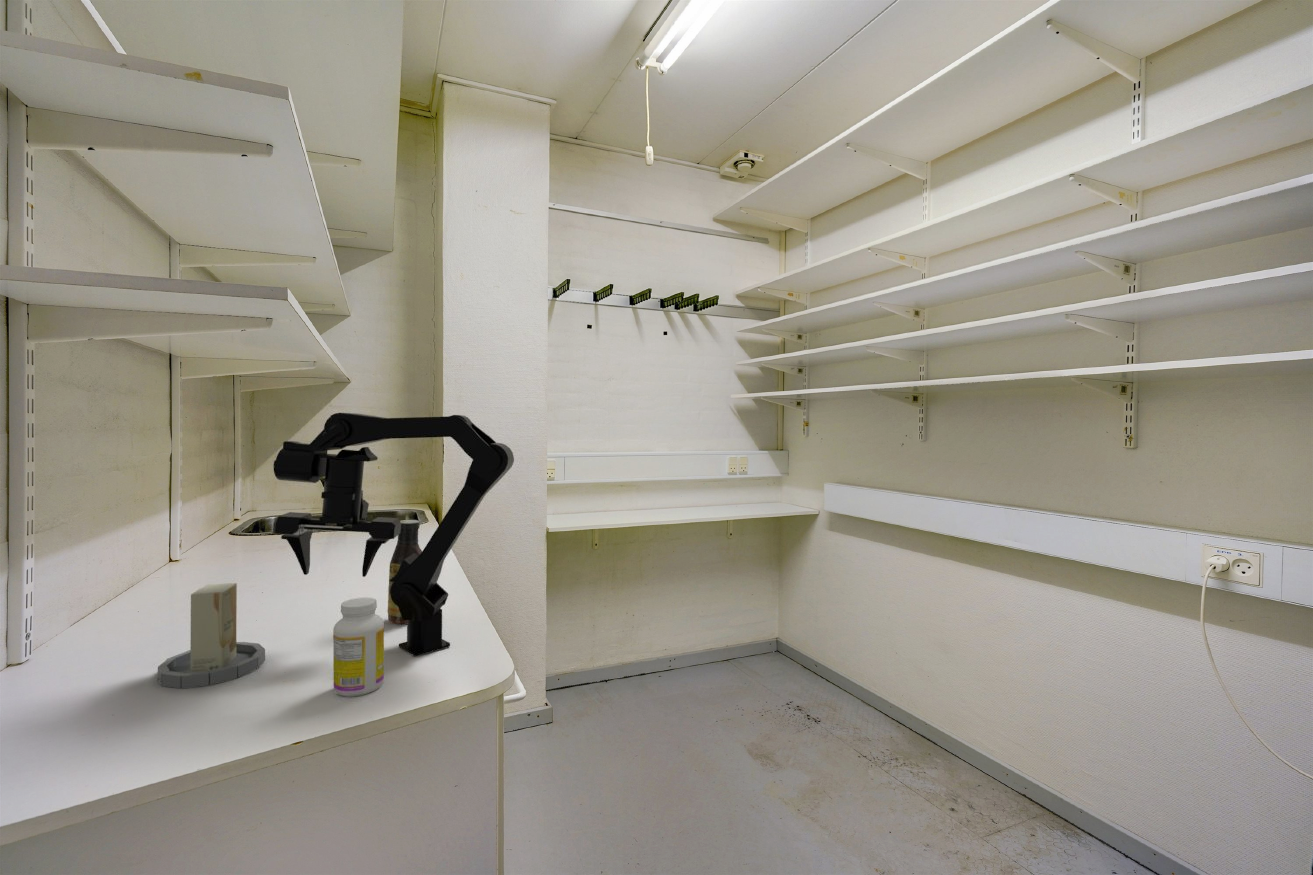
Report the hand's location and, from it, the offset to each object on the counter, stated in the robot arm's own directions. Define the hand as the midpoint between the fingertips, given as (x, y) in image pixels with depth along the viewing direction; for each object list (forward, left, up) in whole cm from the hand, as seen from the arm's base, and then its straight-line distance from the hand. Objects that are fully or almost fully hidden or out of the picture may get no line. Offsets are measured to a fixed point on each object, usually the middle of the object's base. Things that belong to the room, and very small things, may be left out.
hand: (335, 575), depth 99 cm
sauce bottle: (+6, -15, -13) cm, 21 cm away
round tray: (+5, +16, -13) cm, 21 cm away
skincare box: (+5, +16, -12) cm, 21 cm away
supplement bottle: (-18, +3, -13) cm, 23 cm away
